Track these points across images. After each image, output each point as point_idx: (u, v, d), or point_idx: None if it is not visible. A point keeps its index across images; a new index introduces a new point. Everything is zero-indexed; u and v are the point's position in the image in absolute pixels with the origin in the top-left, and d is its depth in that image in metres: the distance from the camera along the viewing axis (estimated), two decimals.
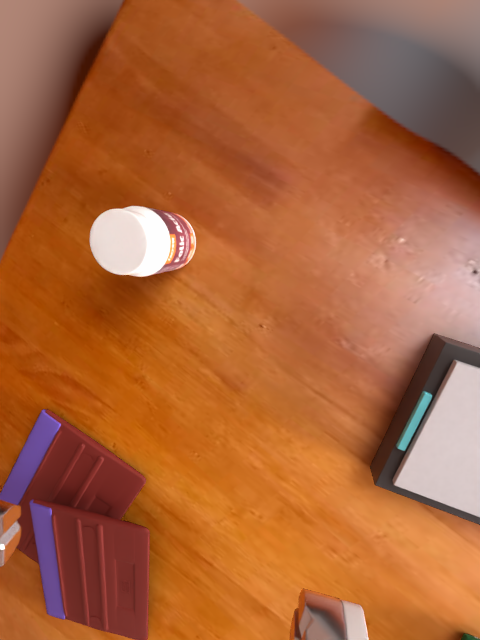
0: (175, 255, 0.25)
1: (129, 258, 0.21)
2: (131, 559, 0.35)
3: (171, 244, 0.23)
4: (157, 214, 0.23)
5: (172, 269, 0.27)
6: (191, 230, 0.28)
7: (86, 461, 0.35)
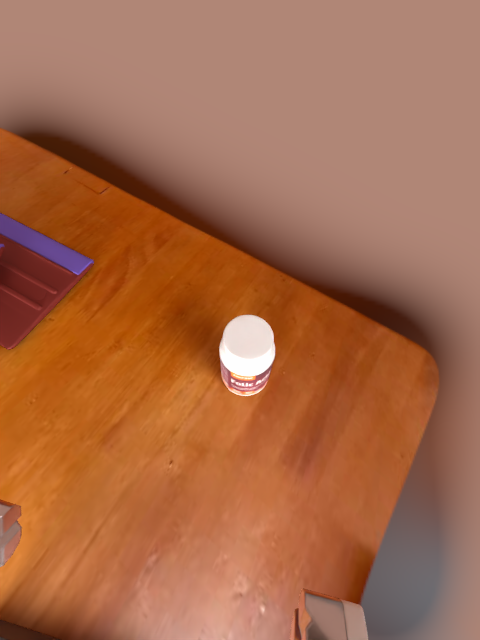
0: (237, 379, 0.29)
1: (236, 344, 0.26)
2: None
3: (247, 377, 0.28)
4: (270, 365, 0.28)
5: (223, 376, 0.32)
6: (256, 391, 0.32)
7: (37, 294, 0.37)
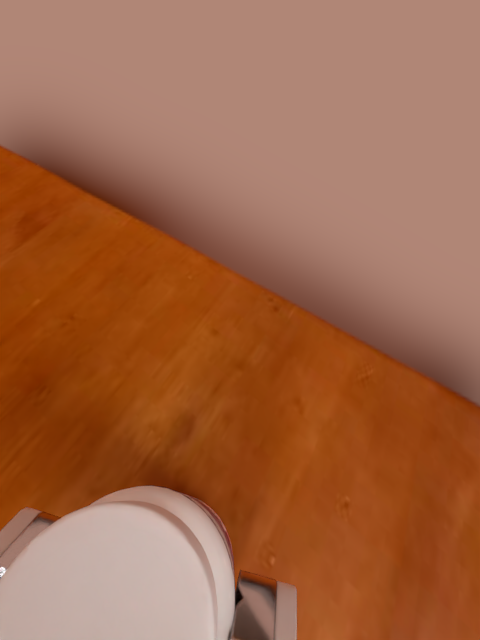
0: None
1: None
2: None
3: None
4: None
5: None
6: None
7: None
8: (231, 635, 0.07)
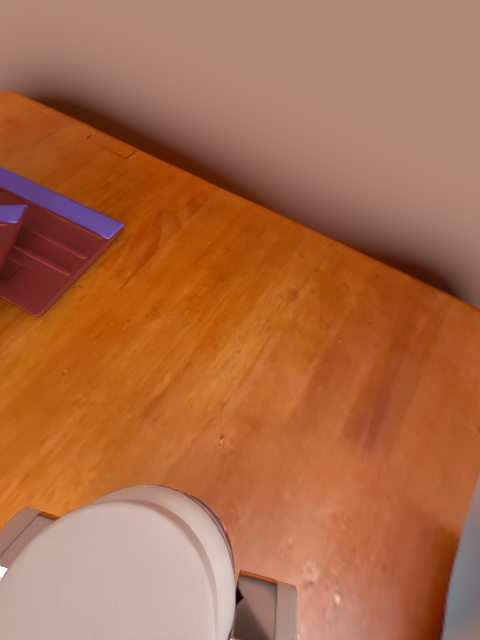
0: None
1: None
2: None
3: None
4: None
5: None
6: None
7: (65, 259, 0.34)
8: (231, 635, 0.07)
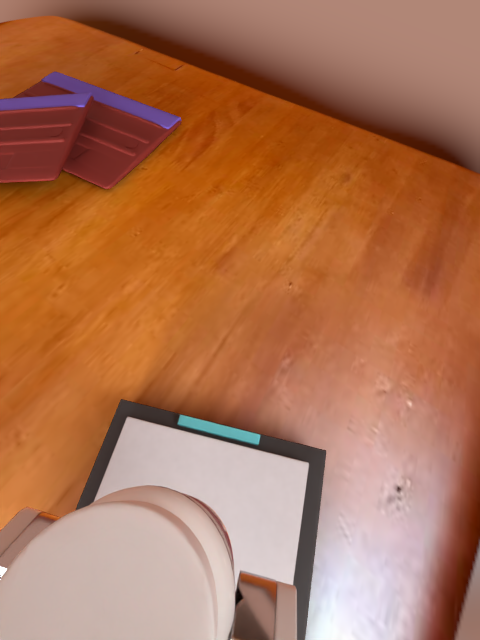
0: None
1: None
2: (13, 166, 0.32)
3: None
4: None
5: None
6: None
7: (129, 143, 0.36)
8: (231, 635, 0.07)
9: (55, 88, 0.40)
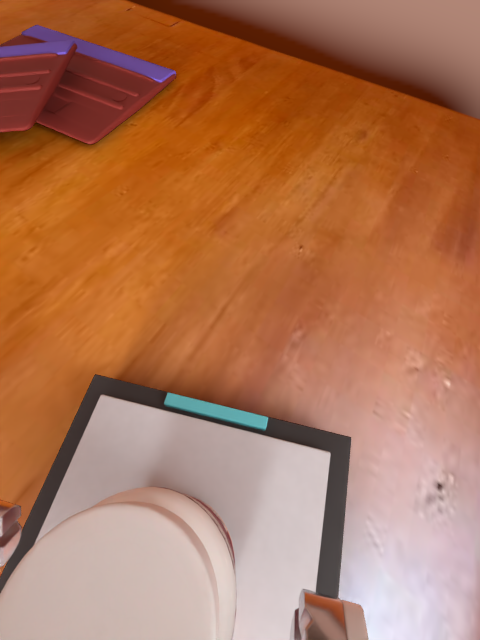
0: None
1: None
2: None
3: None
4: None
5: None
6: None
7: (117, 96, 0.32)
8: None
9: (36, 41, 0.36)
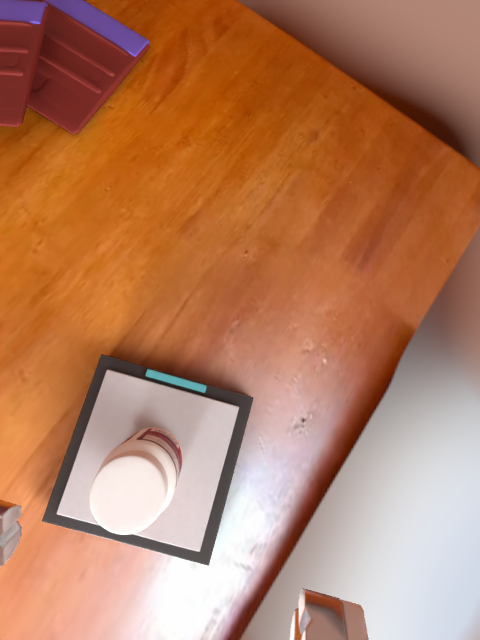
0: None
1: (108, 508, 0.18)
2: None
3: None
4: (166, 506, 0.21)
5: None
6: None
7: (94, 74, 0.34)
8: None
9: None
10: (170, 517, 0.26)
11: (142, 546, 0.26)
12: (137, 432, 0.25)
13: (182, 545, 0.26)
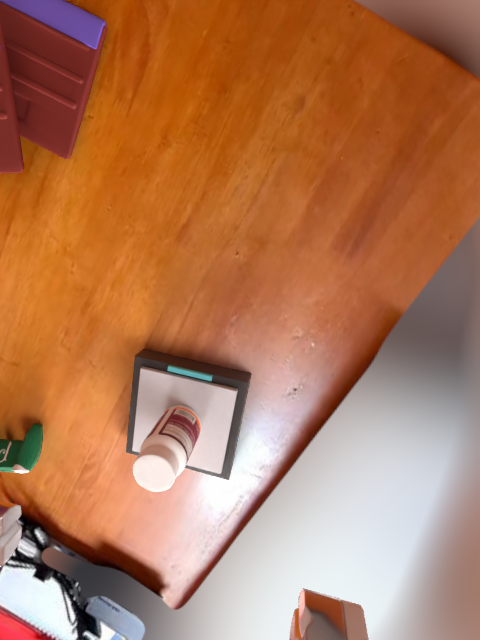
0: None
1: (144, 479, 0.31)
2: None
3: None
4: (183, 469, 0.33)
5: None
6: None
7: (65, 87, 0.33)
8: None
9: None
10: (199, 455, 0.40)
11: (186, 467, 0.41)
12: (166, 412, 0.37)
13: (209, 470, 0.40)
